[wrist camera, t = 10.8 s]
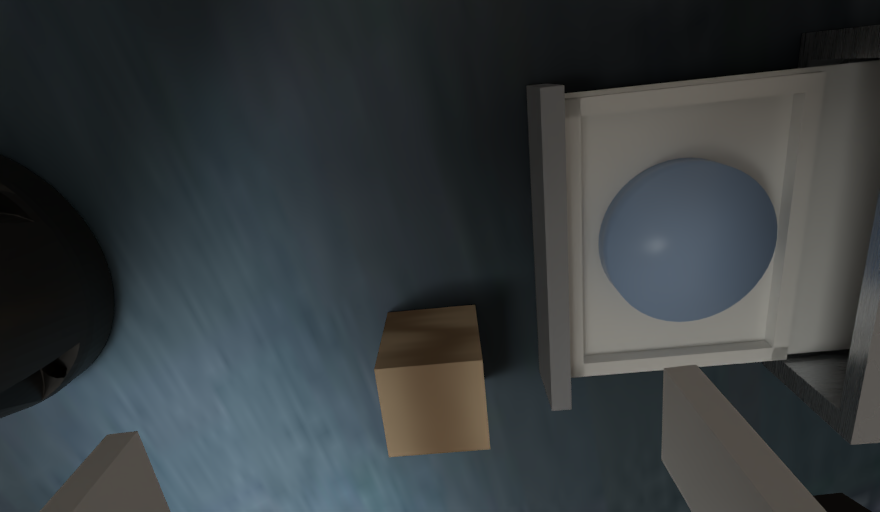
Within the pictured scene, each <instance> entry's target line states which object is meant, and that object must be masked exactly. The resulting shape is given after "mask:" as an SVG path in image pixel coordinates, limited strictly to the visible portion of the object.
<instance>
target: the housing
mask: <svg viewBox="0 0 880 512" xmlns="http://www.w3.org/2000/svg"><path fill="white" fill-rule="evenodd" d="M871 60H880V25H872V26H863V27H854V28H845V29H836V30H827V31H818V32H809V33H802V37H801V46H800V54H799V62H798V68H806V67H815V66H824V65H834V64H843V63H852V62H861V61H871ZM762 364H763V365H764V366H765V367H766V368H767V369H768V370H769V371H771V372H772V373H773V374H774V375H775V376H776V377H777V378H778V379H779V380H780V381H781V382H783V383H784V384H785V385H786V386H787V387H788V388H789V389H790V390H791V391H792V392H794V393H795V394H796V395H797V396H798V397H799V398H800V399H801V400H802V401H803V402H804V403H806V404H807V405H808V406H809V407H810V408H811V409H812V410H813V411H814V412H815V413H816V414H818V415H819V416H820V417H821V418H822V419H823V420H824V421H825V422H826V423H827V424H829V425H830V426H831V427H832V428H833V429H834V430H835V431H836V432H837V433H838V434H839V435H841V436H842V437H843V438H844V439H845V440H846V441H847V442H848V443H849V444H850V445H854V444H867V443H880V189H879V194H878V200H877V205H876V211H875V216H874V222H873V227H872V232H871V238H870V243H869V249H868V254H867V260H866V265H865V271H864V276H863V281H862V287H861V292H860V298H859V303H858V309H857V314H856V320H855V325H854V330H853V336H852V341H851V347H850V349H843V350H831V351H819V352H807V353H796V354H787V360H775V361H763V362H762Z"/></svg>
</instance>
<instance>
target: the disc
mask: <svg viewBox="0 0 880 512" xmlns="http://www.w3.org/2000/svg"><path fill="white" fill-rule="evenodd" d="M776 241H777V218H776V214H775V210H774V206H773V204H772V202H771V200H770V198H769V196H768V195H767V193H766V191H765V190H764V189H763V188H762V186H761V185H760V184H759V183H758V182H757V181H756V180H754V179H753V178H752V177H751V176H749V175H748V174H746V173H744V172H742V171H741V170H738V169H736V168H733V167H730V166H727V165H724V164H721V163H718V162H715V161H711V160H707V159H702V158H679V159H673V160H668V161H665V162H662V163H659V164H656V165H654V166H652V167H650V168H648V169H646V170H644V171H643V172H641V173H639V174H638V175H637V176H635V177H634V178H633V179H631V180H630V181H629V182H628V183H627V184H626V185H625V186H624V187H623V188H622V189H621V190H620V191H619V192H618V194H617V195H616V196H615V197H614V199H613V200H612V202H611V203H610V205H609V207H608V209H607V211H606V213H605V215H604V218H603V221H602V224H601V227H600V233H599V244H598V247H599V256H600V260H601V264H602V267H603V269H604V272H605V274H606V276H607V277H608V279H609V281H610V282H611V283H612V284H613V286H614V287H615V288H616V289H617V291H618V292H619V293H620V294H621V295H622V297H623V298H624V299H625V300H626V301H627V302H628V303H629V304H630V305H631V306H632V307H634V308H635V309H637V310H638V311H640V312H641V313H644V314H646V315H648V316H650V317H653V318H656V319H660V320H665V321H673V322H686V321H694V320H700V319H703V318H707V317H710V316H713V315H715V314H718V313H720V312H722V311H724V310H726V309H728V308H730V307H731V306H733V305H734V304H735V303H737V302H738V301H740V300H741V299H742V298H743V297H745V296H746V295H747V294H748V293H749V292H750V291H751V290H752V289H753V288H754V287H755V286H756V284H757V283H758V282H759V280H760V279H761V278H762V276H763V275H764V273H765V271H766V270H767V268H768V266H769V264H770V262H771V259H772V257H773V254H774V250H775V247H776Z"/></svg>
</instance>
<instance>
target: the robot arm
mask: <svg viewBox="0 0 880 512" xmlns="http://www.w3.org/2000/svg"><path fill="white" fill-rule="evenodd" d="M113 315H114V292H113V284H112V280H111V275H110V272H109V268H108V265H107V262H106V260H105V257H104V255H103V253H102V250H101V248H100V246H99V244H98V242H97V240H96V239H95V237H94V235H93V234H92V232H91V230H90V229H89V227H88V226H87V224H86V223H85V222H84V220H83V219H82V218H81V216H80V215H79V214H78V213H77V211H76V210H75V209H74V208H73V207H72V206H71V205H70V204H69V203H68V201H67V200H66V199H65V198H64V197H63V196H61V195H60V194H59V193H58V192H57V191H56V190H55V189H54V188H53V187H51V186H50V185H49V184H48V183H47V182H45V181H44V180H43V179H41V178H40V177H39V176H37V175H36V174H34V173H33V172H31V171H30V170H28V169H26V168H25V167H23V166H21V165H20V164H18V163H16V162H14V161H12V160H10V159H8V158H6V157H4V156H2V155H0V418H2V417H5V416H8V415H10V414H13V413H15V412H18V411H21V410H23V409H26V408H29V407H31V406H34V405H36V404H38V403H40V402H42V401H44V400H45V399H47V398H49V397H51V396H52V395H54V394H55V393H57V392H58V391H60V390H61V389H62V388H63V387H65V386H66V385H67V384H68V383H70V382H71V381H72V380H73V379H74V378H76V377H77V376H78V375H79V374H81V373H82V372H83V371H84V370H85V369H87V368H88V367H89V366H90V365H91V364H92V363H93V362H94V360H95V359H96V358H97V357H98V355H99V354H100V352H101V351H102V349H103V347H104V345H105V343H106V341H107V339H108V336H109V334H110V330H111V327H112V322H113ZM661 460H662V461H663V463H664V465H665V467H666V468H667V470H668V472H669V473H670V475H671V477H672V478H673V480H674V482H675V484H676V485H677V487H678V489H679V490H680V492H681V494H682V496H683V497H684V499H685V501H686V502H687V504H688V506H689V508H690V509H691V511H692V512H871V511H870V510H868V509H866V508H865V507H863V506H862V505H860V504H859V503H857V502H855V501H854V500H852V499H851V498H849V497H848V496H846V495H844V494H843V493H834V494H825V495H816V496H812V495H811V493H810V492H809V491H808V490H807V489H806V488H805V487H804V486H803V484H802V483H801V482H800V481H799V480H798V479H797V478H796V477H795V475H794V474H793V473H792V472H791V471H790V470H789V469H788V468H787V466H786V465H785V464H784V463H783V462H782V461H781V460H780V459H779V457H778V456H777V455H776V454H775V453H774V452H773V451H772V450H771V448H770V447H769V446H768V445H767V444H766V443H765V442H764V441H763V439H762V438H761V437H760V436H759V435H758V434H757V433H756V432H755V430H754V429H753V428H752V427H751V426H750V425H749V424H748V423H747V421H746V420H745V419H744V418H743V417H742V416H741V415H740V414H739V412H738V411H737V410H736V409H735V408H734V407H733V406H732V404H731V403H730V402H729V401H728V400H727V399H726V398H725V397H724V395H723V394H722V393H721V392H720V391H719V390H718V389H717V388H716V386H715V385H714V384H713V383H712V382H711V381H710V380H709V379H708V377H707V376H706V375H705V374H704V373H703V372H702V371H701V370H700V368H699V367H698V366H697V365H696V364H695V365H686V366H678V367H670V368H664V375H663V416H662V457H661ZM40 512H170V510H169V507H168V505H167V502H166V500H165V497H164V495H163V493H162V490H161V488H160V485H159V483H158V480H157V478H156V475H155V473H154V471H153V468H152V466H151V463H150V461H149V458H148V456H147V453H146V451H145V449H144V446H143V444H142V441H141V439H140V436H139V434H138V431H134V432H126V433H118V434H109V435H107V436H106V437H105V438H104V439H103V440H102V441H101V442H100V444H99V445H98V446H97V447H96V448H95V449H94V450H93V451H92V453H91V454H90V455H89V456H88V457H87V458H86V459H85V461H84V462H83V463H82V464H81V465H80V466H79V467H78V469H77V470H76V471H75V472H74V473H73V474H72V475H71V476H70V478H69V479H68V480H67V481H66V482H65V483H64V484H63V486H62V487H61V488H60V489H59V490H58V491H57V492H56V494H55V495H54V496H53V497H52V498H51V499H50V500H49V501H48V503H47V504H46V505H45V506H44V507H43V508H42V509H41V511H40Z"/></svg>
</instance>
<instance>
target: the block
mask: <svg viewBox="0 0 880 512" xmlns="http://www.w3.org/2000/svg"><path fill="white" fill-rule="evenodd" d="M374 371H375V377H376V383H377V389H378V394H379V400H380V406H381V412H382V418H383V424H384V430H385V436H386V442H387V448H388V454H389V457H397V456H410V455H422V454H435V453H448V452H460V451H473V450H486V449H490V440H489V429H488V417H487V406H486V394H485V383H484V372H483V360H482V353H481V345H480V337H479V330H478V322H477V315H476V307H475V305H465V306H454V307H443V308H432V309H421V310H410V311H399V312H388V314H387V318H386V322H385V327H384V331H383V335H382V339H381V343H380V348H379V352H378V356H377V360H376V364H375V369H374Z"/></svg>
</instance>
